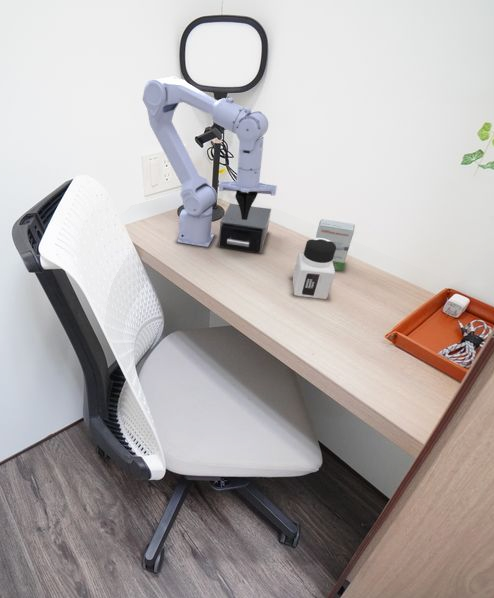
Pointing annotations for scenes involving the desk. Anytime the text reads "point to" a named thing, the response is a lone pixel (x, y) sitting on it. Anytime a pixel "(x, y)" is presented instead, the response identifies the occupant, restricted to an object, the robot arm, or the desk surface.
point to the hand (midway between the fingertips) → (244, 218)
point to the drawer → (240, 238)
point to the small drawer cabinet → (247, 221)
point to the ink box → (337, 239)
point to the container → (315, 269)
